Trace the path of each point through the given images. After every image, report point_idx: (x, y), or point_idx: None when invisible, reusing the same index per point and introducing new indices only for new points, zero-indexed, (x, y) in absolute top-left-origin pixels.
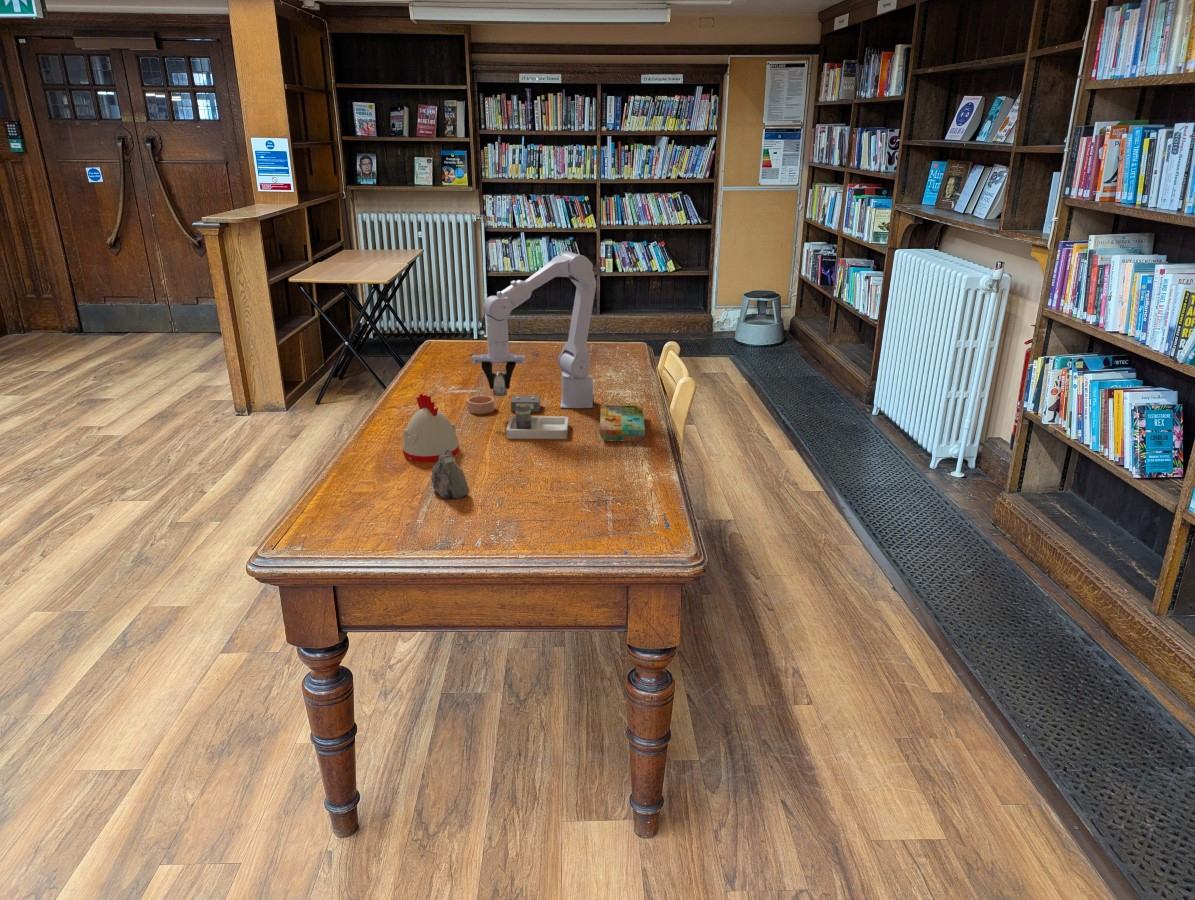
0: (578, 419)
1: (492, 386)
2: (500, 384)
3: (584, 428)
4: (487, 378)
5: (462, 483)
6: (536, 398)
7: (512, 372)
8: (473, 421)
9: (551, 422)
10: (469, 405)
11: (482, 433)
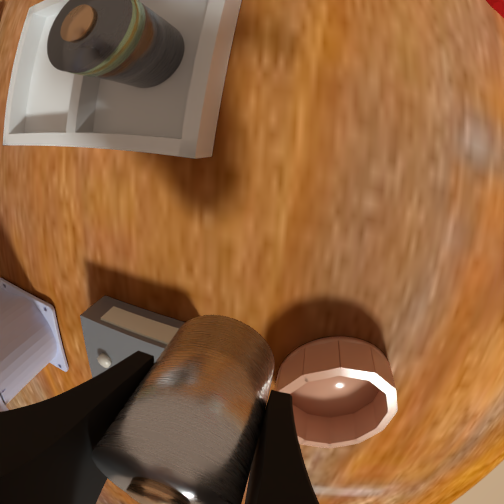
0: (9, 193)
1: (266, 410)
2: (178, 381)
3: (3, 111)
4: (304, 473)
5: None
6: (96, 357)
7: (4, 411)
8: (400, 243)
9: (52, 131)
10: (393, 380)
11: (366, 52)
